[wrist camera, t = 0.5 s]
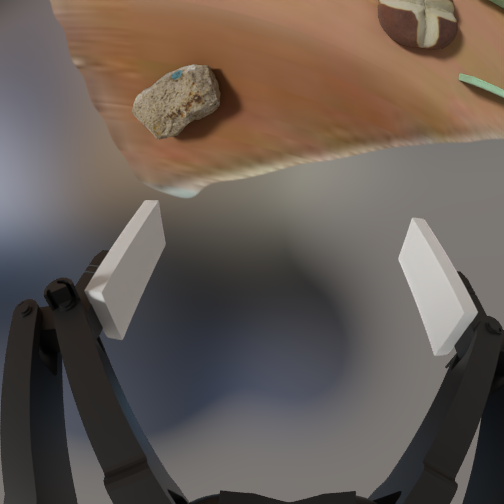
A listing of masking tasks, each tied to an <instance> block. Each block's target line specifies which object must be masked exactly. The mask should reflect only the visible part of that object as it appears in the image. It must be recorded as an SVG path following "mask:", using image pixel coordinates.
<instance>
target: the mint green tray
mask: <svg viewBox="0 0 504 504" xmlns="http://www.w3.org/2000/svg"><path fill="white" fill-rule="evenodd" d="M489 1H491V2H493V3H495V4H496V5H498V6H500V7H502V8H503V9H504V0H489ZM459 80H461V81H463V82H466V83H469V84H471V85H474V86H476V87H479V88H481V89H484V90H486V91H489V92H491V93H493V94H496V95H498V96H500V97H502V98H504V90H503V89H500V88H498V87H496V86H494V85H492V84H489V83H487V82H485V81H483V80H480V79H478V78H475V77H473V76H469V75H465V74H461V73H459Z"/></svg>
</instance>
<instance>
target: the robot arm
mask: <svg viewBox="0 0 504 504" xmlns="http://www.w3.org/2000/svg"><path fill="white" fill-rule="evenodd" d="M165 245H166V244H165V238H164V232H163V226H162V220H161V213H160V207H159V201H150V200H149V201H148V200H145V201H144V202H143V204H142V205H141V207H140V208H139V209H138V211H137V212H136V213H135V215H134V216H133V218H132V219H131V220H130V222H129V223H128V225H127V226H126V227H125V229H124V230H123V232H122V233H121V235H120V236H119V237H118V239H117V241H116V242H115V243H114V245H113V246H112V248H111V249H110V251H106V250H103V251H101V252H100V253H99V254H98V255H96V256H95V257H94V258H93V260H92V261H91V263H90V264H89V266H88V267H87V269H86V271H85V273H83V275H82V276H81V278H80V279H79V281H78V283H77V284H76V286H74V284H73V282H72V281H71V280H70V279H68V278H59V279H56V280H54V281H53V282H51V283H50V284H49V285H48V286H47V287H46V289H45V291H44V297H45V299H46V301H47V303H48V304H49V306H46V307H39V306H38V304H37V302H36V301H35V300H33V299H27V300H24V301H22V302H21V303H19V304H18V306H17V307H16V308H15V310H14V312H13V316H12V321H11V326H10V331H9V337H8V343H7V350H6V357H5V364H4V373H3V384H2V396H1V426H0V427H1V429H0V435H1V461H2V473H3V483H4V492H5V498H4V504H77V498H76V493H75V489H74V484H73V479H72V473H71V467H70V461H69V454H68V447H67V439H66V429H65V419H64V405H63V385H62V358H63V362H64V366H65V369H66V373H67V377H68V380H69V384H70V387H71V390H72V393H73V396H74V399H75V402H76V405H77V408H78V411H79V414H80V417H81V419H82V422H83V425H84V427H85V430H86V432H87V435H88V437H89V440H90V442H91V445H92V447H93V449H94V452H95V454H96V456H97V459H98V461H99V463H100V465H101V467H102V469H103V472H104V475H105V478H104V485H105V488H106V490H107V492H108V494H109V496H110V498H111V500H112V502H113V504H450V503H451V501H452V499H453V497H454V495H455V493H456V490H457V487H458V484H457V483H456V482H455V477H456V475H457V473H458V471H459V469H460V467H461V465H462V462H463V460H464V458H465V456H466V454H467V451H468V449H469V447H470V444H471V442H472V439H473V437H474V435H475V432H476V429H477V427H478V424H479V421H480V418H481V424H480V430H479V437H478V442H477V448H476V453H475V458H474V462H473V467H472V471H471V475H470V480H469V483H468V487H467V490H466V494H465V497H464V500H463V504H504V330H503V329H502V326H501V325H500V323H499V322H498V321H497V320H496V319H495V318H493V317H490V316H487V315H486V313H485V311H484V309H483V307H482V305H481V303H480V301H479V299H478V298H477V296H476V295H475V292H474V291H473V289H472V287H471V285H470V283H469V281H468V279H467V278H466V277H465V276H464V275H463V274H462V273H461V272H458V271H456V269H455V268H454V266H453V264H452V263H451V261H450V259H449V257H448V256H447V254H446V253H445V251H444V249H443V248H442V246H441V244H440V243H439V241H438V240H437V238H436V236H435V235H434V233H433V232H432V230H431V229H430V227H429V226H428V224H427V223H426V221H425V220H424V219H419V218H412V220H411V223H410V226H409V229H408V232H407V235H406V238H405V241H404V244H403V247H402V250H401V252H400V255H399V258H398V260H399V262H400V264H401V267H402V269H403V271H404V274H405V276H406V279H407V281H408V283H409V286H410V288H411V291H412V294H413V296H414V298H415V301H416V304H417V306H418V309H419V312H420V315H421V317H422V320H423V323H424V326H425V329H426V332H427V335H428V337H429V340H430V343H431V347H432V350H433V353H434V355H435V356H439V355H447V354H449V353H450V351H451V350H452V349H453V347H454V346H455V349H456V352H457V353H456V355H455V356H454V357H453V358H452V359H451V360H450V362H449V363H448V364H447V365H446V368H447V367H449V369H448V371H447V373H446V375H445V378H444V380H443V382H442V384H441V387H440V389H439V391H438V393H437V395H436V397H435V399H434V401H433V403H432V405H431V407H430V409H429V411H428V413H427V415H426V417H425V418H424V420H423V422H422V424H421V426H420V428H419V429H418V431H417V433H416V434H415V436H414V438H413V440H412V442H411V443H410V445H409V446H408V448H407V450H406V451H405V453H404V454H403V456H402V457H401V459H400V460H399V462H398V464H397V465H396V467H395V468H394V469H393V471H392V472H391V474H390V475H389V477H388V478H387V479H386V481H385V482H384V483H382V485H380V486H379V487H378V488H377V489H376V490H375V491H374V492H373V493H372V495H371V496H370V497H369V498H368V499H367V498H364V497H360V496H356V491H351V492H341V493H329V494H322V495H318V496H314V497H311V498H307V499H303V500H299V501H295V502H284V501H280V500H276V499H272V498H268V497H265V496H261V495H257V494H253V493H240V492H230V491H220V494H215V495H210V496H205V497H202V498H199V499H196V500H194V501H192V502H190V503H189V501H188V500H187V498H186V497H185V496H184V494H183V493H182V492H181V490H180V488H179V487H178V486H177V484H176V483H175V482H174V481H173V480H172V478H171V477H170V476H169V474H168V473H167V471H166V470H165V468H164V466H163V465H162V463H161V462H160V460H159V458H158V457H157V455H156V453H155V452H154V450H153V448H152V446H151V445H150V443H149V441H148V439H147V437H146V436H145V434H144V432H143V430H142V428H141V426H140V424H139V423H138V421H137V419H136V417H135V415H134V413H133V411H132V409H131V407H130V405H129V403H128V401H127V399H126V397H125V395H124V392H123V390H122V388H121V386H120V384H119V382H118V379H117V377H116V375H115V372H114V370H113V368H112V365H111V363H110V360H109V358H108V356H107V353H106V351H105V348H104V345H103V343H102V341H101V338H100V337H99V335H100V333H101V331H102V329H103V330H104V332H105V334H106V336H107V337H109V338H114V339H120V340H123V338H124V335H125V333H126V330H127V328H128V326H129V323H130V321H131V319H132V316H133V314H134V312H135V309H136V307H137V305H138V302H139V300H140V298H141V296H142V294H143V291H144V289H145V287H146V285H147V283H148V280H149V278H150V276H151V274H152V272H153V270H154V267H155V265H156V263H157V261H158V259H159V257H160V255H161V253H162V251H163V249H164V247H165Z"/></svg>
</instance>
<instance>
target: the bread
mask: <svg viewBox="0 0 504 504" xmlns="http://www.w3.org/2000/svg"><path fill="white" fill-rule="evenodd" d="M453 12H454V4H453V1H452V0H378V18H379V21H380V24H381V26H382V28H383V29H384V31H385V32H386V33H387V34H388V35H389V36H390V37H391V38H392V39H393V40H395V41H396V42H398V43H400V44H402V45H404V46H409V47H420V48H425V49H441V48H444V47H446V46H448V45H449V44H450V43H451V42H452V41H453V39H454V38H455V36H456V33H457V20H456V19H455V17H454V15H453Z"/></svg>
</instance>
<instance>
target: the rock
mask: <svg viewBox="0 0 504 504" xmlns="http://www.w3.org/2000/svg"><path fill="white" fill-rule="evenodd" d="M220 95H221V93H220V91H219V85H218V81H217V80H216V78H215V75H214V74H213V72H212V71H211V69H210V67H209V66H208V65H204V66H203V65H196V64H193V65H189V66H184V67H182V68H180V69H177V70H175V71H173V72H170V73H167V74H166V75H165V76H163V77H162V78H160V79H159V80H158V81H157V82H156V83H155V84H154V85H153V86H151V87H149V88H146V89H145V90H143V92H142V93H140V94H138V96H137V97H136V99H135V102H134V105H133V109H132V113H133V115H134V116H135V117H136V118H137V119H138V120H139V121H140V122H141V123H143V124H144V126H145V127H146V128H148V129H149V130H150V131H151V132H152V134H153V135H154V136H155V138H156V139H163V138H167V137H174V136H177V135H179V133H180V132H181V131H182V130H183V129H184V127H185V126H187V125H188V124H189V123H190V122H192V121H194V120H195V119H196V120H199V119H201V118H204V117H205V116H207V115H210V114H212V113H213V112H214V111H215V110H216V109H218V108H219V106H220Z"/></svg>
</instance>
